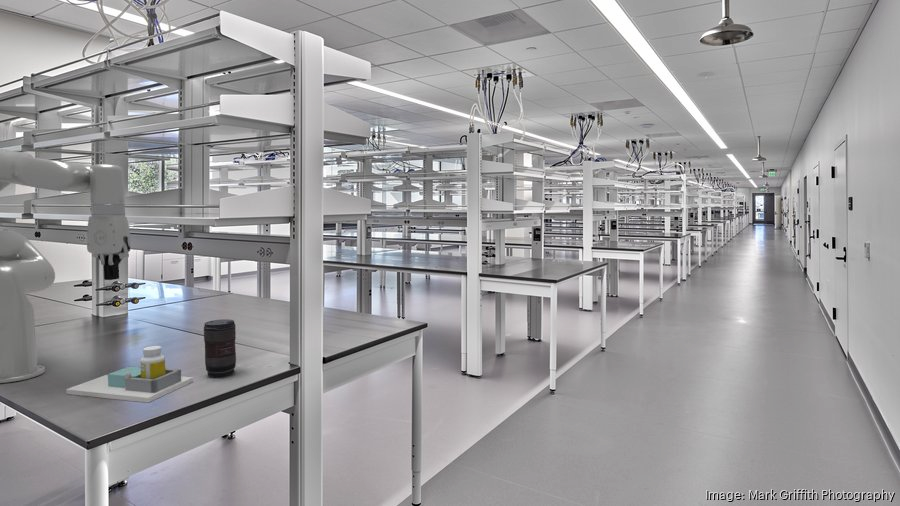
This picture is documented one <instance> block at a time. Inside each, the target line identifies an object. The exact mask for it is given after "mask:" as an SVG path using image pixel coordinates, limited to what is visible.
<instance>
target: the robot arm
mask: <svg viewBox="0 0 900 506" xmlns="http://www.w3.org/2000/svg"><path fill="white" fill-rule="evenodd" d="M124 177H125V176H124V169H123V168H122V166H120V165H116V164H106V163H103V164H102V163H97V164H92V165H90V164H83V163H78V162H77V163H76V162H68V161H61V160H53V159H46V158H40V157H39V158H38V157H34V156H33V155H32V154H30V153H27V152H20V151H15V150H10V149H3V148H0V192H1V191H2V190H4V189H5V188H7V187H8V186H10V185H12V184H14V185H20V186H23V187H24V186H26V187H30V188H37V189H44V190H48V191H49V190H51V191H57V192H71V193H72V192H74V193H90V208H89V210H90V213H91V216H89V217H88V221H87V226H86V227H87V228H86V251H87V252H88V253H90V254H91V255H92V257H94V258H96V259H99V261H100V264H101V265H102V266H103V280H105V281H113V280H119V279H120V270H119V269H120V268H119V267H120V266H119V265H120V264H121V263H122V260H124V259H127V258H130V254H129V253H130V252H131V249H132V248H131V247H132V242H131V241H132V238H131V232H130V225H129V221H128V217H127V216H126V205H125V204H126V199H125V179H124ZM55 280H56V272H55V269H54V266H52V264H51V263H50V261H49V260H48V259H47V258H46V257H45V256H44V255H43V254H42V253H41V251H39V250H38V248H36V246H34V244H33V243H32V242H31V241H30V240H29V239H28V238H27V237H25V236H24V235H23V234H21V233H19V232H17V231H14V230H9V229H0V384H3V383H4V384H5V383H13V382H19V381H24V380H28V379H31V378H35V377H39V376H40V375H42V374H44V373H45V371H46V368H45V366H43V365H40V364H38V353H37V340H36V339H37V338H36V337H37V335H36V322H35V321H36V320H35V319H36V318H35V310H34V307H33V304H32V302H31V301H30V299H29V297H28V296H27V294H31V293H36V292H40V291H44V290H46V289H48V288H51V286H52V285H53V284H54V282H55Z"/></svg>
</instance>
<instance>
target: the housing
mask: <svg viewBox="0 0 900 506" xmlns="http://www.w3.org/2000/svg"><path fill="white" fill-rule="evenodd" d="M127 371H131V377H133V378H141V367H137V366H126V367H124V368H121V369H118V370H115V371H113V372H110V373H108V386H116V387H125V372H127Z"/></svg>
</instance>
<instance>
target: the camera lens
mask: <svg viewBox="0 0 900 506" xmlns="http://www.w3.org/2000/svg"><path fill="white" fill-rule="evenodd" d="M236 330H237V329H236V323H235V320H234V319H231V318H230V319H227V318H226V319H214V320H208V321H206V322H204V325H203V342H204V364H205V370H206V372H207V377H208V378H212V379H213V378H214V379H219V378H220V379H221V377H222V378H226V376H227V377H229V376H230V377H231V376H232V375H233V374H234V373H235V368H236V365H237V353H236V338H237V337H236V336H237V335H236V334H237V333H236V332H237V331H236Z"/></svg>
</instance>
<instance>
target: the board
mask: <svg viewBox="0 0 900 506" xmlns="http://www.w3.org/2000/svg"><path fill="white" fill-rule="evenodd" d="M165 373H166V375H163V376H161V377H158V378H156V379H144V378H133V377H131V371H127V372H125V387H116V386H108V374H109V373H108V374H104V375H102V376H99V377H96V378H94V379H91V380H88V381H85V382H83V383H80V384H77V385H74V386H72V387H68V388H67V389H65V392H66V393H65V394H66V395H72V396H83V397H92V398H101V399H102V398H103V399H109V400H110V399H111V400H121V401H131V402H139V403H147V404H148V403H151V402H153V401H155V400H157V399H159V398H161V397H163V396H166V395H168V394H170V393H172V392H175V391H176V390H179V389H181V388H182V387H185V386H187V385H190V384H192V383H193V382H194V377H192V376H191V377H190V376H182V369H179V368H178V369H176V368H166V367H165Z"/></svg>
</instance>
